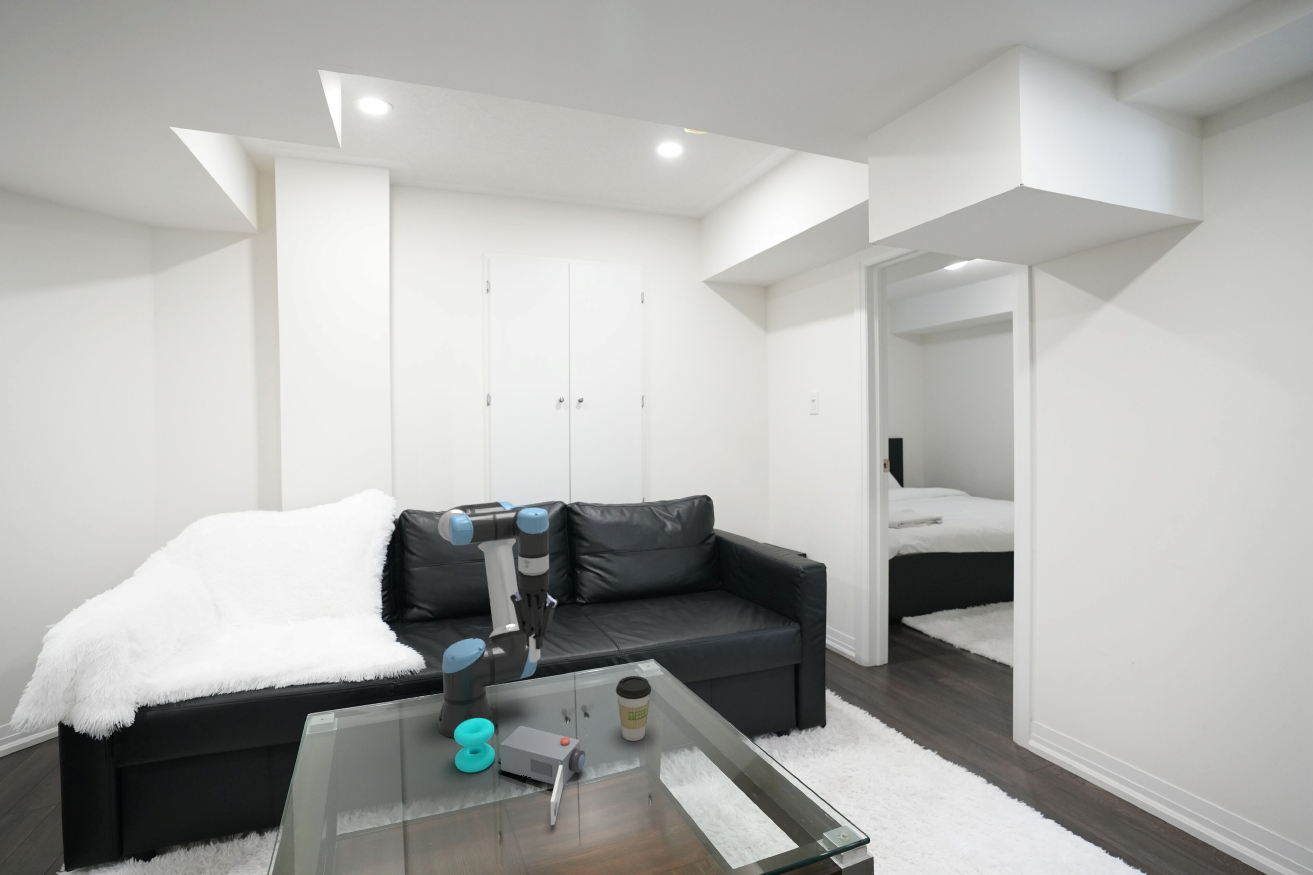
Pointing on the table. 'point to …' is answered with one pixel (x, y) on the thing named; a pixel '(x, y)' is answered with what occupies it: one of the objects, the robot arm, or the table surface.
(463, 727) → the donuts
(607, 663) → the table surface
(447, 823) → the table surface
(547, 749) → the grey boxy piece
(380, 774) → the table surface
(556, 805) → the side door
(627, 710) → the coffee cup
